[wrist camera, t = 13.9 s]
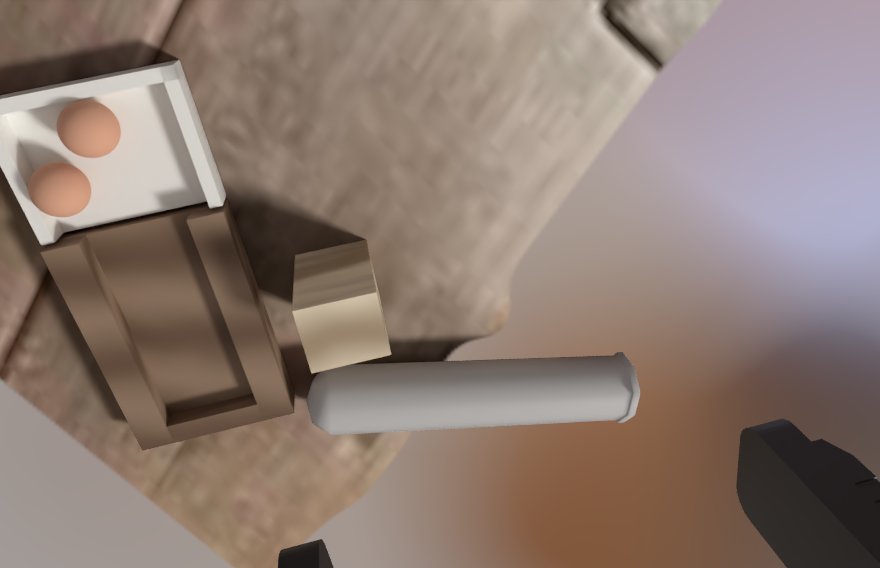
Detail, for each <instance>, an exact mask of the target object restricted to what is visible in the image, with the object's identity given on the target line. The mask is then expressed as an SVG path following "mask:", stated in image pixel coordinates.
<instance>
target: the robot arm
mask: <svg viewBox="0 0 880 568" xmlns="http://www.w3.org/2000/svg"><path fill="white" fill-rule="evenodd" d="M737 493H738V497H739V500H740V503H741V505H742V508H743V510H744V512H745V514H746V515H747V517H748V518H749V520H750V521H751V522H752V524H753V525H754V526H755V527H756V529H757V530H758V531H759V533H760V534H761V535H762V536H763V538H764V539H765V540H766V542H767V543H768V544H769V545H770V547H771V548H772V549H773V551H774V552H775V553H776V554H777V556H778V557H779V558H780V559H781V561H782V562H783V563H784V565H785V566H786V567H787V568H880V482H879V481H878V480H877V477H876V476H875V475H874V474H873V473H872V472H871V471H869V470H868V469H867V468H866V467H865V466H864V465H863V464H862V463H861V462H860V461H858V460H857V459H856V458H855V457H854V456H853V455H851V454H850V453H848V452H846V451H843V450H842V449H840V448H838V447H836V446H834V445H832V444H830V443H828V442H826V441H825V440H823V439H820V440H816V441H813V442H811V441H810V440H809V439H808V438H807V437H806V436H805V435H804V434H803V433H802V432H801V431H800V430H799V429H798V428H797V427H796V426H794V425H793V424H792V423H791V422H790V421H788V420H785V419H779V420H775V421H772V422H768V423H764V424H760V425H757V426H753V427H749V428H745V429H743V431H742V433H741V436H740V447H739V460H738V473H737ZM278 568H333V565H332V563H331V559H330V557H329V554H328V551H327V549H326V546H325V544H324V542H323V540H322V539H320V540H317V541H313V542H309V543H305V544H301V545H298V546H294V547H290V548H286V549H283V550H281V551H280V553H279V559H278Z"/></svg>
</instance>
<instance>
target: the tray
mask: <svg viewBox="0 0 880 568" xmlns="http://www.w3.org/2000/svg"><path fill="white" fill-rule="evenodd" d="M79 100H91V101H95V102H98V103H101V104H103V105H105V106H106V107H107V108H109V109H110V110H111V111H112V112H113V113H114V114H115V116H116V117H117V119H118V121H119V124H120V129H121V137H120V140H119V143H118V145H117V146H116V148H115V149H114V150H113V151H112V152H110V153H109V154H107V155H105V156H102V157H98V158H86V157H82V156H79V155H77V154H75V153H73V152H71V151H70V150H69V149H67V148H66V147H65V146H64V144H63V143H62V142H61V140H60V138H59V136H58V133H57V126H56V124H57V119H58V116H59V114H60V112H61V111H62V110H63V108H65V107H66V106H67V105H69V104H70V103H72V102H75V101H79ZM52 162H62V163H67V164H70V165H73V166H75V167H76V168H78V169H79V170H81V171H82V172H83V173H84V174H85V175H86V177H87V178H88V180H89V182H90V185H91V198H90V201H89V203H88V205H87V206H86V207H85V209H83V210H82V211H81V212H80V213H78V214H76V215H73V216H70V217H54V216H50V215H48V214H45V213H44V212H42V211H40V210H39V209H38V208H37V207H36V206H35V205H34V204H33V202H32V201H31V199H30V196H29V193H28V183H29V179H30V177H31V175H32V174H33V172H34V171H35V170H36V169H38V168H39V167H41V166H43V165H45V164H48V163H52ZM0 166H1V168H2V170H3V172H4V174H5V176H6V178H7V180H8V182H9V184H10V186H11V188H12V190H13V192H14V194H15V196H16V198H17V200H18V201H19V203H20V205H21V207H22V209H23V211H24V213H25V215H26V217H27V219H28V221H29V223H30V225H31V227H32V229H33V231H34V233H35V235H36V236H37V238H38V240H39V242H40V244H41V245H46V244H50V243H55V242H56V241H57V239H58V238H59V237H60V236H61V235H62V234H63V233H64V232H69V231H73V230H78V229H82V228H87V227H92V226H96V225H101V224H105V223H110V222H115V221H119V220H124V219H128V218H133V217H137V216H142V215H147V214H151V213H156V212H160V211H165V210H170V209H174V208H179V207H183V206H188V205H192V204H197V203H202V202H206V201H207V202H208V205H209V208H215V207H219V206H223V203H224V201H225V198H226V193H225V190H224V187H223V184H222V181H221V178H220V175H219V173H218V170H217V167H216V164H215V161H214V158H213V155H212V152H211V149H210V147H209V144H208V141H207V138H206V135H205V132H204V129H203V126H202V123H201V121H200V118H199V115H198V112H197V109H196V106H195V103H194V100H193V97H192V95H191V92H190V89H189V86H188V83H187V80H186V77H185V74H184V71H183V69H182V66H181V63H180V60H175V61H169V62H164V63H159V64H154V65H149V66H144V67H139V68H134V69H129V70H124V71H119V72H114V73H109V74H104V75H99V76H94V77H89V78H84V79H79V80H74V81H69V82H64V83H59V84H54V85H49V86H44V87H39V88H34V89H29V90H24V91H19V92H14V93H9V94H4V95H0Z"/></svg>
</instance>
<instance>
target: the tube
mask: <svg viewBox="0 0 880 568" xmlns="http://www.w3.org/2000/svg"><path fill="white" fill-rule="evenodd" d="M639 397H640V389H639V385H638V381H637V376H636V372H635V368H634V366H633V365H632V364H631V362H630V361H629V360H628V359H627V357H626V356H625V355H624V353H623V352H617V353H616V354H615V355H613V356H588V357H560V358H532V359H505V360H504V359H501V360H472V361H443V362H414V363H384V364H355V365H346V366H342V367H337V368H333V369H329V370H325V371H321V372H320V373H319V374H317V375H316V376H315V378H314V379H313V381H312V383H311V387H310V390H309V393H308V397H307V400H306V402H307V406H308V409H309V413H310V416H311V420H312V423H314V424H315V425H316V426H317V427H319V428H320V429H322V430H323V431H325V432H327V433H328V434H330V435H341V434H360V433H378V432H397V431H416V430H434V429H452V428H470V427H490V426H509V425H527V424H546V423H563V422H581V421H582V422H583V421H602V420H616V421H617V422H618V423H622V422H625V421H626V420H628V419H629V418H631V417H633V416H634V415H635V412H636V408H637V404H638V401H639Z"/></svg>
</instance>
